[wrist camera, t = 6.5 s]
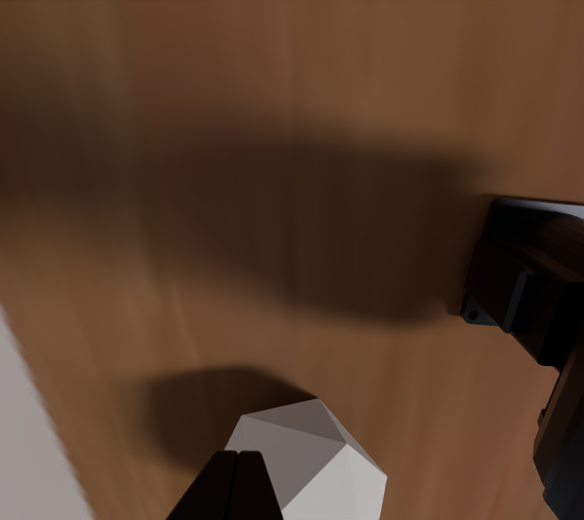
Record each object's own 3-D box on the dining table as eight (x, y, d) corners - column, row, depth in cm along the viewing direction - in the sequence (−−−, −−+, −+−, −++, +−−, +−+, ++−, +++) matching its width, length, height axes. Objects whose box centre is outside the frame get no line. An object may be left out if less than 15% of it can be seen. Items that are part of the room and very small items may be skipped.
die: (217, 359, 23) (127, 572, 18) (363, 370, 18) (301, 672, 13) (290, 415, 28) (238, 592, 23) (418, 436, 23) (391, 668, 18)
